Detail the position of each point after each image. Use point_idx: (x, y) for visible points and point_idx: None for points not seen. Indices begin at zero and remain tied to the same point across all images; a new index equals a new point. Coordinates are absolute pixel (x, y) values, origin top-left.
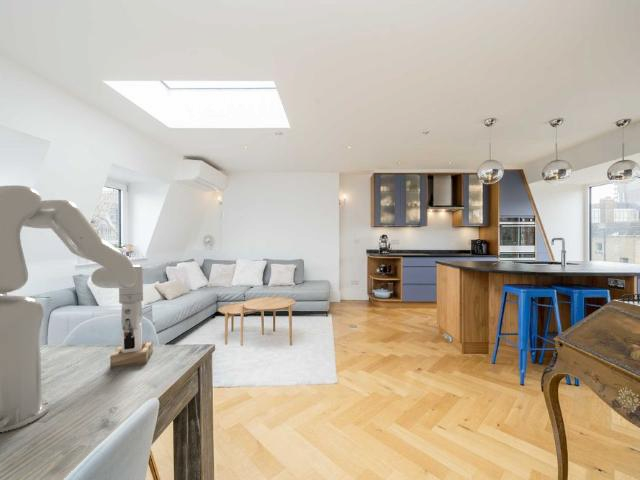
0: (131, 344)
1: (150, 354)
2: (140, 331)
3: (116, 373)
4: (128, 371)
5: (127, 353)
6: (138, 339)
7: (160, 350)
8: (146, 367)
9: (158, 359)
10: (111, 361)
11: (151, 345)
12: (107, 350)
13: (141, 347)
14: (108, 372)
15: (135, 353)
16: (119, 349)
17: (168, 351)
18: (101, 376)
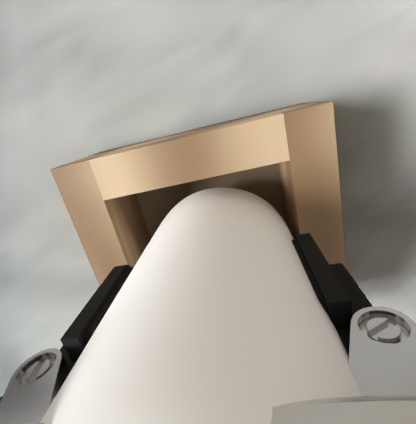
0: (336, 271)
1: (162, 137)
2: (227, 296)
3: (401, 230)
4: (397, 172)
5: (329, 254)
6: (265, 245)
7: (64, 107)
8: (370, 70)
9: (235, 39)
10: None
11: (102, 155)
12: None
13: (216, 196)
14: (368, 278)
15: (339, 191)
16: None
17: (81, 24)
18: (412, 289)
